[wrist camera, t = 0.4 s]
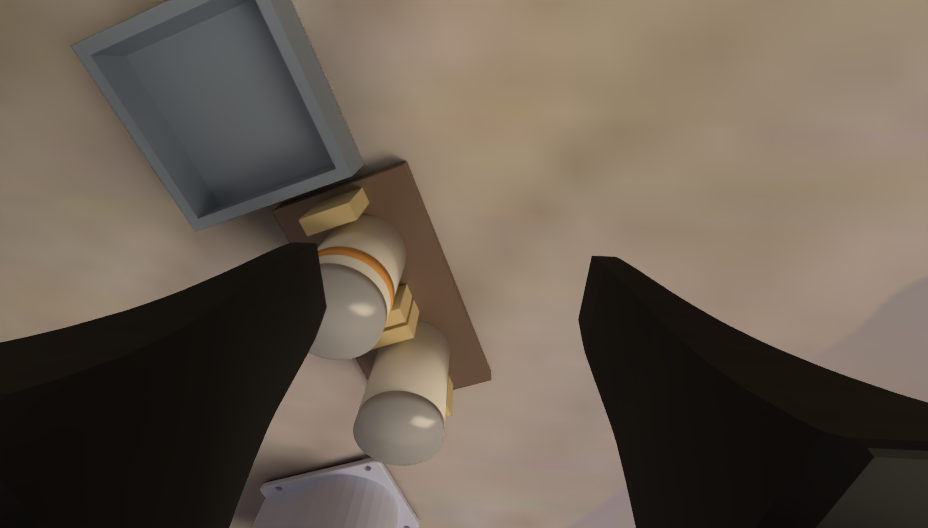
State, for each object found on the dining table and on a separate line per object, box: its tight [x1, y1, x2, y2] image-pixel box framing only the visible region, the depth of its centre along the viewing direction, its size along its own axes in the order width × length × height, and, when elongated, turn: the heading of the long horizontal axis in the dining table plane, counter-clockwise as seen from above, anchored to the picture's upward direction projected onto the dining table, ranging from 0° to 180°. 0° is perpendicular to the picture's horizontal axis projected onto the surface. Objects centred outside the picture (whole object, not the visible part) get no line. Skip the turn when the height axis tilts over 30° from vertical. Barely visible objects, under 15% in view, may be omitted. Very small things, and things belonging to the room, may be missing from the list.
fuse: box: [353, 321, 450, 466], centre depth 21 cm, size 4×4×6 cm
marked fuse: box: [309, 215, 407, 360], centre depth 18 cm, size 4×4×6 cm
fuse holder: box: [272, 161, 491, 417], centre depth 21 cm, size 7×14×3 cm, turn 19°
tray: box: [71, 0, 364, 232], centre depth 18 cm, size 8×8×2 cm
